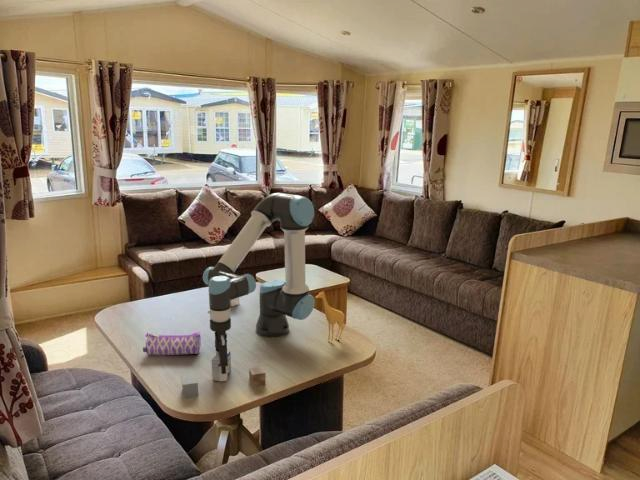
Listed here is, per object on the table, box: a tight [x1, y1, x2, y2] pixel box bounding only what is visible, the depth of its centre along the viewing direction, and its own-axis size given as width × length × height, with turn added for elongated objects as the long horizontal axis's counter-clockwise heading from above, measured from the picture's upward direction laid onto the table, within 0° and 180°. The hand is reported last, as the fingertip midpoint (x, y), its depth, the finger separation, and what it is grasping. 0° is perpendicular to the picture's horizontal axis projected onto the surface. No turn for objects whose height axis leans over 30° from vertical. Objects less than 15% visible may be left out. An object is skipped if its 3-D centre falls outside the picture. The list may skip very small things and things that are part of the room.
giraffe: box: [314, 290, 346, 341], centre depth 205 cm, size 16×4×25 cm, turn 125°
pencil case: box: [142, 331, 202, 356], centre depth 194 cm, size 22×9×9 cm, turn 96°
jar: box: [231, 297, 240, 307], centre depth 247 cm, size 9×8×12 cm
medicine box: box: [211, 350, 232, 382], centre depth 178 cm, size 8×4×9 cm, turn 168°
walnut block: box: [248, 365, 267, 388], centre depth 175 cm, size 5×5×5 cm
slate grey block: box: [181, 375, 199, 398], centre depth 167 cm, size 5×5×5 cm
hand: (221, 373), depth 179 cm, fingers closed on medicine box, 9 cm apart
